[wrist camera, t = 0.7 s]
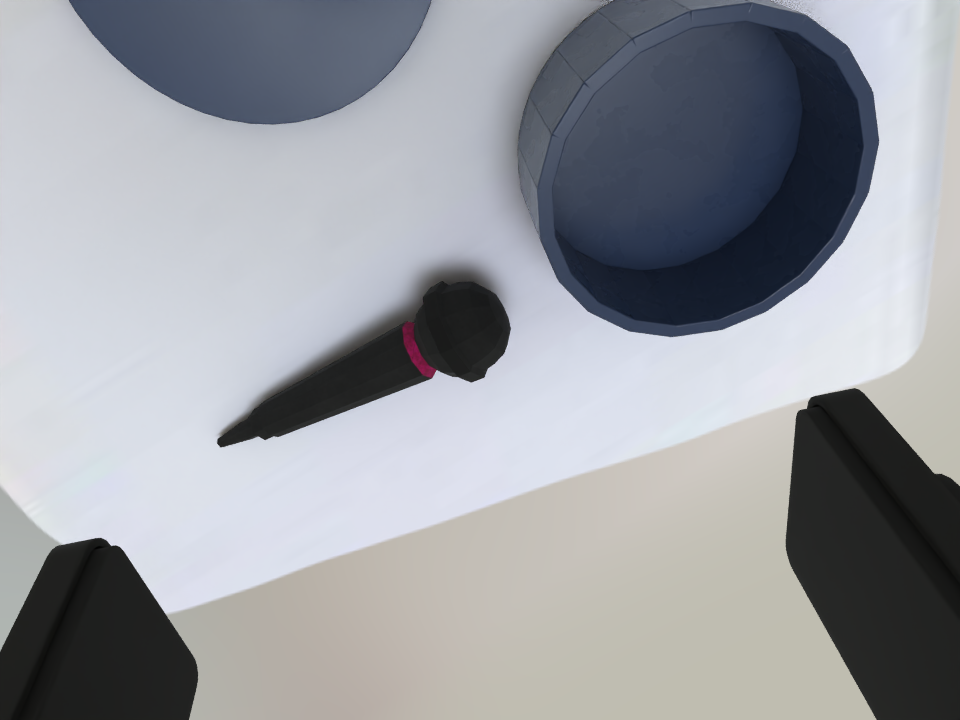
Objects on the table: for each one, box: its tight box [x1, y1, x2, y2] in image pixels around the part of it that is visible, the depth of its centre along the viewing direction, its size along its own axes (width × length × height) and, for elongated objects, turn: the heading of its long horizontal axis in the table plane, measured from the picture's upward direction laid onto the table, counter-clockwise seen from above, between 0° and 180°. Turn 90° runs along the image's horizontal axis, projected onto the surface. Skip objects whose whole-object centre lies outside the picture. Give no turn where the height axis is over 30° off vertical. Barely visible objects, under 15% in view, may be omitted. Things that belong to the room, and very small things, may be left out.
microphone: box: [217, 281, 511, 447], centre depth 43 cm, size 6×6×20 cm
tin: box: [518, 0, 879, 337], centre depth 36 cm, size 15×15×6 cm
